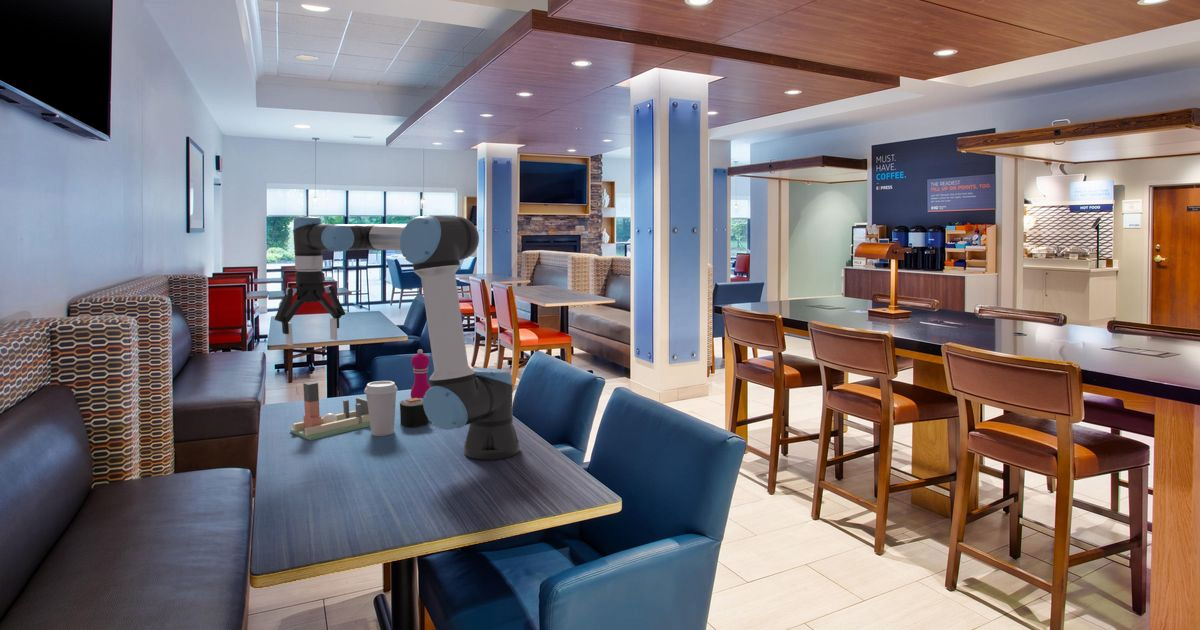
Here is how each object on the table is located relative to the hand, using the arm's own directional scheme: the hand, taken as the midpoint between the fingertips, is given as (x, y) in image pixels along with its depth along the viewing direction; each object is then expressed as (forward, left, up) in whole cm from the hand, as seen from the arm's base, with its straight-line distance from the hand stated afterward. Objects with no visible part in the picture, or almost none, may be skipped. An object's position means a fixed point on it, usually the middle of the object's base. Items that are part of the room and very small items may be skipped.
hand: (312, 342), depth 210 cm
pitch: (0, -6, -27) cm, 28 cm away
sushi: (-14, -25, -28) cm, 40 cm away
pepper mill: (+2, -39, -28) cm, 48 cm away
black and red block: (0, +1, -26) cm, 26 cm away
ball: (0, -4, -24) cm, 25 cm away
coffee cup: (-15, -13, -28) cm, 34 cm away
